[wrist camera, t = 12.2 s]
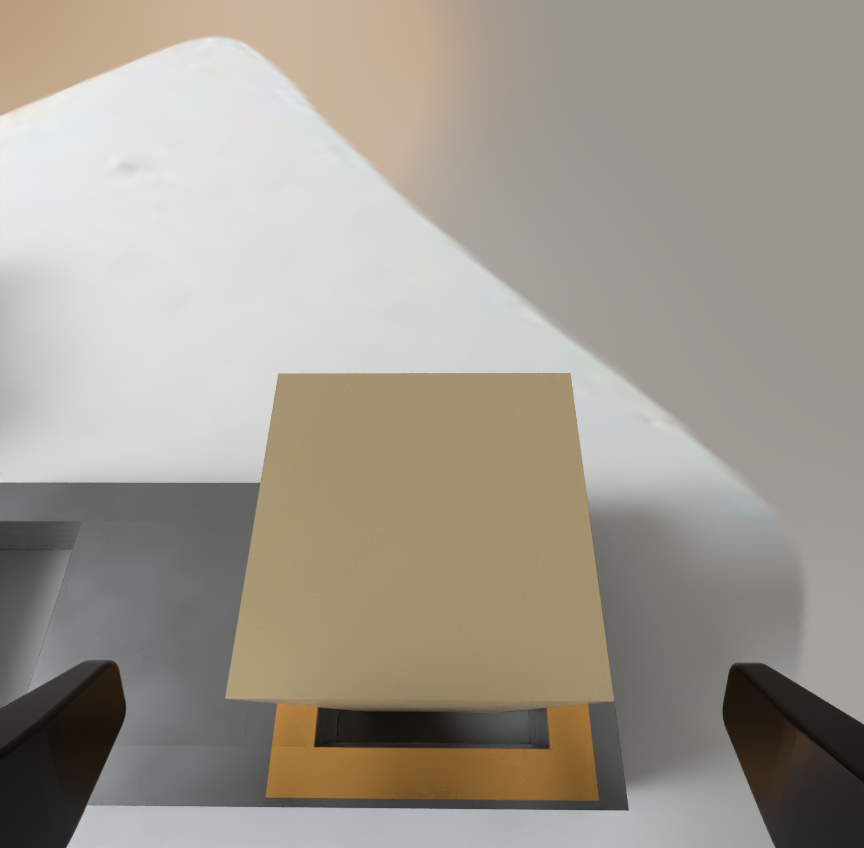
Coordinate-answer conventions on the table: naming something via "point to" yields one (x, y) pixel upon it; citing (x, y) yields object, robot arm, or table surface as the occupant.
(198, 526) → the socket block
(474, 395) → the brass peg
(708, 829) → the table surface
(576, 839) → the table surface
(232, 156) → the table surface
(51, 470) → the table surface
